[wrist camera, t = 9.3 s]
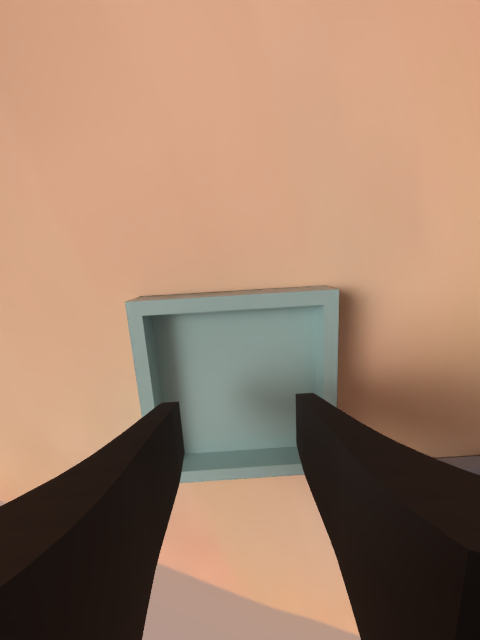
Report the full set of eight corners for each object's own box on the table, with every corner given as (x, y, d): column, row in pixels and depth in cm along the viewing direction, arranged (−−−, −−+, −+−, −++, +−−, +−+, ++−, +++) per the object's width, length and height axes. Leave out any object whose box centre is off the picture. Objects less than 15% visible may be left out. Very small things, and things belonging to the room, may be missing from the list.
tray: (324, 285, 13) (339, 289, 11) (323, 446, 14) (335, 472, 13) (140, 296, 13) (125, 301, 11) (161, 457, 14) (151, 484, 13)
